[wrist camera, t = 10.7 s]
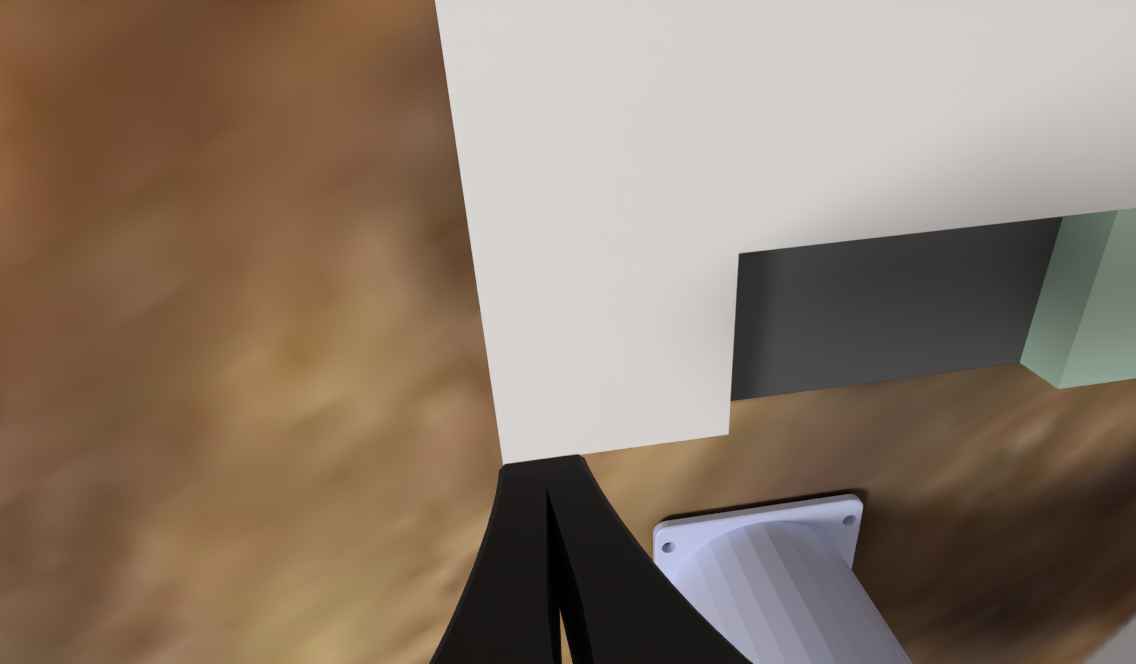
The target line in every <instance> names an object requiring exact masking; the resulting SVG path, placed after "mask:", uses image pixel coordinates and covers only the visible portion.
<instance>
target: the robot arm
mask: <svg viewBox="0 0 1136 664" xmlns="http://www.w3.org/2000/svg"><path fill="white" fill-rule="evenodd" d="M862 511H863V503H862V502H861V501H860V499H859V498H858V497H857V496H856V495H854V494H846V495H839V496H832V497H825V498H818V499H812V500H805V501H798V502H791V503H784V504H778V505H771V506H764V507H757V508H750V509H744V510H737V511H730V512H723V513H716V514H709V515H703V516H696V517H689V518H682V519H675V520H669V521H664V522H661V523H659V524H658V525H657V526H656V527H655V528H654V531H653V560H652V559H651V558H650V557H649V555H648V554H647V553H646V552H645V550H644V549H643V548H642V547H641V545H640V544H639V543H638V541H637V540H636V539H635V537H634V536H633V535H632V533H631V532H630V531H629V529H628V528H627V527H626V525H625V524H624V523H623V521H622V520H621V519H620V517H619V516H618V514H617V513H616V511H615V510H614V509H613V507H612V506H611V504H610V503H609V501H608V499H607V498H606V496H605V495H604V493H603V492H602V490H601V488H600V487H599V485H598V483H597V482H596V480H595V478H594V476H593V475H592V473H591V471H590V469H589V467H588V465H587V463H586V460H585V458H583V457H582V456H580V455H579V454H574V455H566V456H559V457H552V458H544V459H537V460H530V461H522V462H515V463H508V464H505V465H504V466H503V467H502V468H501V469H500V470H499V478H498V485H497V490H496V495H495V500H494V504H493V508H492V511H491V515H490V518H489V522H488V525H487V529H486V531H485V534H484V537H483V540H482V543H481V546H480V549H479V552H478V555H477V558H476V561H475V563H474V566H473V569H472V571H471V574H470V576H469V579H468V581H467V583H466V586H465V588H464V590H463V593H462V595H461V598H460V600H459V602H458V605H457V607H456V610H455V612H454V614H453V616H452V618H451V621H450V623H449V625H448V627H447V629H446V631H445V633H444V635H443V637H442V639H441V641H440V644H439V646H438V647H437V649H436V651H435V653H434V655H433V657H432V659H431V661H430V663H429V664H562V655H561V631H560V611H561V615H562V620H563V624H564V628H565V633H566V637H567V641H568V645H569V650H570V654H571V658H572V662H573V664H912V662H911V661H910V659H909V658H908V656H907V655H906V653H905V651H904V650H903V648H902V647H901V645H900V644H899V642H898V641H897V639H896V638H895V636H894V635H893V633H892V631H891V630H890V628H889V627H888V625H887V624H886V622H885V621H884V619H883V618H882V616H881V615H880V613H879V611H878V610H877V608H876V607H875V605H874V604H873V602H872V601H871V599H870V598H869V596H868V595H867V593H866V591H865V590H864V588H863V587H862V585H861V584H860V582H859V581H858V579H857V578H856V576H855V574H854V573H853V571H852V564H853V559H854V554H855V548H856V543H857V538H858V533H859V527H860V522H861V517H862ZM847 516H848V517H847ZM845 517H846V518H845ZM668 542H671V543H670V544H667V545H664V544H666V543H668ZM559 607H560V608H559Z"/></svg>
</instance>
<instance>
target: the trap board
mask: <svg viewBox="0 0 1136 664" xmlns="http://www.w3.org/2000/svg"><path fill="white" fill-rule="evenodd" d="M435 3H436V9H437V16H438V23H439V30H440V37H441V43H442V50H443V57H444V64H445V71H446V77H447V84H448V91H449V98H450V105H451V112H452V118H453V125H454V132H455V139H456V146H457V152H458V159H459V166H460V173H461V180H462V187H463V193H464V200H465V207H466V214H467V221H468V227H469V234H470V241H471V248H472V255H473V262H474V268H475V275H476V282H477V289H478V296H479V302H480V309H481V316H482V323H483V330H484V337H485V343H486V350H487V357H488V364H489V371H490V377H491V384H492V391H493V398H494V405H495V412H496V418H497V425H498V432H499V439H500V446H501V452H502V459H503V465H505V464H508V463H515V462H522V461H530V460H537V459H544V458H552V457H559V456H566V455H574V454H579V455H581V454H588V453H595V452H603V451H610V450H617V449H624V448H632V447H639V446H646V445H654V444H661V443H668V442H675V441H683V440H690V439H697V438H705V437H712V436H719V435H726V434H728V432H729V415H730V401H735V400H743V399H750V398H758V397H765V396H773V395H780V394H788V393H795V392H803V391H810V390H818V389H825V388H833V387H840V386H848V385H855V384H863V383H870V382H878V381H885V380H893V379H900V378H908V377H915V376H923V375H930V374H938V373H946V372H953V371H961V370H968V369H976V368H983V367H991V366H998V365H1006V364H1013V363H1021V364H1022V365H1024V366H1025V367H1027V368H1028V369H1030V370H1031V371H1033V372H1034V373H1036V374H1037V375H1038V376H1040V377H1041V378H1043V379H1044V380H1046V381H1047V382H1049V383H1050V384H1051V385H1053V386H1054V387H1056V388H1057V389H1062V388H1069V387H1076V386H1083V385H1091V384H1098V383H1105V382H1113V381H1120V380H1127V379H1134V378H1136V0H435Z"/></svg>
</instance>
